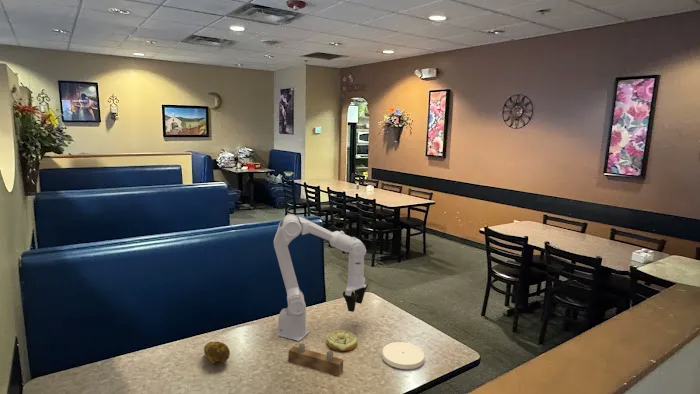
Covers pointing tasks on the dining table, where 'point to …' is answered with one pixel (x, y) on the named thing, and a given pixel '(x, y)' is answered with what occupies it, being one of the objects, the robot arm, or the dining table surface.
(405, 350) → the plastic lid
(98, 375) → the dining table surface
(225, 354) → the potato
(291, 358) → the bar
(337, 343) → the decorated donut
